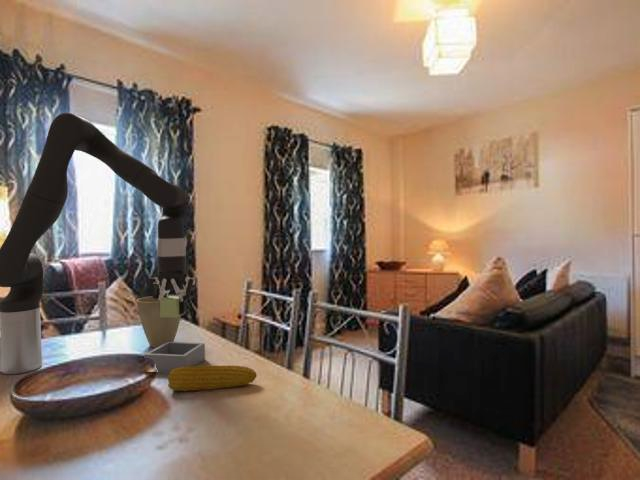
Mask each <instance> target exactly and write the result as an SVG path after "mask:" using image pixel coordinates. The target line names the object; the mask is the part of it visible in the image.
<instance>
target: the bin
mask: <svg viewBox="0 0 640 480" xmlns="http://www.w3.org/2000/svg"><path fill="white" fill-rule="evenodd" d="M205 346H206V345H205V342H187V341H186V342H185V341H174V342H166V343H165V344H163V345H161V346H159V347H154V349H152V350H150V351H148V352H146V353H144V355H143V356H144V357H143V358H150V359H152V360H153V361H154V362H155V364H156V368H157V370H158V373H157V374H169V375H170V372H171V371H172V370H174V369H176V368H179V367H184V366H194V367H195V366H199V365H200V364H201V363H202V362H203V360H204V359H205V360H206V349H205V348H206V347H205ZM205 360H204V361H205ZM200 362H201V363H200ZM199 363H200V364H199Z"/></svg>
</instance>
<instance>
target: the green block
mask: <svg viewBox="0 0 640 480" xmlns="http://www.w3.org/2000/svg"><path fill="white" fill-rule="evenodd" d="M179 302H180V300H179V297H178V296H169V297H166V298H163V299H160V317H174V318H177V317H179V316H183V315H186V314H187V311H186V312H185V314H182V315H180V314H179Z"/></svg>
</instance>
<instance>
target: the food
mask: <svg viewBox="0 0 640 480" xmlns="http://www.w3.org/2000/svg"><path fill="white" fill-rule="evenodd" d="M257 376H258V374H257V373H256V371H255V370H254V369H252V368H250V367H248V366H243V365H241V366H240V365H197V366H195V367H194V366H184V367H179V368H176V369H174V370H172V371H171V372H170V374H169V375H168V377H167V378H168V379H167V381H168V384H167V386H168V388H169V389H170V390H172V391H181V392H183V391H184V392H187V391H191V392H193V391H203V390H205V391H206V390H214V389H221V388H222V389H224V388H236V387H242V386H247V385H249V384H250V383H254V381H255V380H256V378H257Z"/></svg>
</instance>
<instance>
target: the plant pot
mask: <svg viewBox="0 0 640 480" xmlns="http://www.w3.org/2000/svg"><path fill="white" fill-rule="evenodd" d="M169 296H178V295H177V294H168V296H167V297H169ZM136 304H137V305H136V306H137V311H138V316H139V320H140V322H141V323H140V324H141V326H142V329H143V331H144V335H145V338H146V340H147V342H148V344H149V346H150V347H152V348H157V347H159V346H161V345H163V344H165V343H166V342H175V338H176V336H177V332H178V329H179V326H180V323H181V318H182V317H181V316H182V315H181V316H179V317H177V318H174V317H160V305H159V300H158V299H154V298H153V297H152V295H151V296H145V297H141V298H137V299H136Z"/></svg>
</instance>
